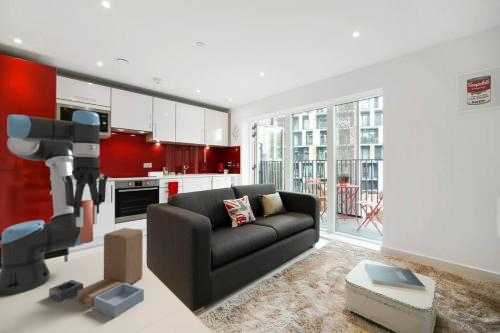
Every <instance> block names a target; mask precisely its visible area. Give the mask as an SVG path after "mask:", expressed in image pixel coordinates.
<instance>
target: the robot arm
mask: <svg viewBox="0 0 500 333" xmlns="http://www.w3.org/2000/svg"><path fill="white" fill-rule="evenodd" d="M6 120H7V123H6V124H7V125H6V126H7V127H6V128H7V129H6V132H7V133H6V134H7V136H8V139H7V142H6V147H7V149H8V150H9V152H11V153H12V154H13V155H15V156H17V157H19V158H21V159H25V160H29V161H40V162H41V161H44V163H45V166H47V167H49V170H50V180H51V181H50V182H51V183H50V184H51V193H52V208H53V215H52V216H51V217H50V218H49V222H46V223H45V221H44V220H43V219H37V220H29V221H24V222H20V223H17V224H13V225H11V226H8V227H7V228H4V229H3V231H2V233H1V240H0V244H1V253H0V254H1V257H0V259H1V260H0V264H1V265H0V266H1V267H0V296H7V295H14V294H19V293H22V292H27V291H29V290H33V289H36V288H38V287H40V286H42V285H44V284H45V283H47V282H48V281H49V280H50V279H51V277H50V276H51V274H50V270H49V268H48V266H47V263H46V261H45V253H50V252H56V251H60V250H64V249H65V250H66V249H69V248H75V247H77V246H78V247H79V246H82V245H84V244H85V243H80V227H83V207H80V206H81V202H82V201H83V196H84V190H85V187H86V186H88V188H89V192H90V193H89V194H90V198H91V199H90V200H93V225H97V224H98V216H97V215H98V214H99V213H100V206H101V205H102V203H105V202H106V193H107V192H106V191H107V190H106V189H107V188H106V186H107V180H108V178H109V176H108V174H102V173H101V171H100V162H101V161H100V159H101V158H99V156H100V125H101V122H100V115H99V114H98V113H97V112H94V111H91V110H90V111H88V110H75V111H73V113H72V118H71V121H70V120H62V119H55V118H54V119H53V118H46V117H37V116H29V115H25V114H9V115H8V116H7V119H6ZM97 180H98V183H97Z"/></svg>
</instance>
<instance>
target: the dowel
mask: <svg viewBox="0 0 500 333" xmlns="http://www.w3.org/2000/svg"><path fill="white" fill-rule="evenodd" d="M80 207H83V227H80V243H84V244H89V243H90V244H91V243H92V242H94V224H93V200H92V199H86V200H83V199H82V202H81V206H80Z"/></svg>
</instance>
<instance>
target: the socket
mask: <svg viewBox="0 0 500 333" xmlns="http://www.w3.org/2000/svg"><path fill="white" fill-rule="evenodd" d="M83 288H84V284H83V283H82V282H80V281H76V280H75V279H74V280H73V279H70V280H67V281H65V282H62V283H60V284H58V285H55V286H53V287H51V288H49V289H48V298H49V299H52V300H54V301H56V302H58V303H60V304H61V303H62V302H65V301H68V300H69V299H71V298H73V297H77V291H78V290H81V289H83Z"/></svg>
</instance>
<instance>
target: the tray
mask: <svg viewBox="0 0 500 333" xmlns="http://www.w3.org/2000/svg"><path fill="white" fill-rule="evenodd" d="M144 294H145V289H144V288H141V287H138V286H135V285H133V284H131V285H129V284H126V283H122V284H120V285H118V286H116V287H114V288H112V289H110V290H108V291H106V292H104V293H102V294H100V295H98V296H96V297H94V307H93V308H94V310H96V311H99V312H101V313H103V314H105V315H107V316H110V317H113V318H118V316H120V315H121V314H123V313H125V312H127V311H128V310H129V309H131V308H133V307H134V306H136V305H138V304H139V303H141V302H143V301H144V300H145V299H144V296H145V295H144Z"/></svg>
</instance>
